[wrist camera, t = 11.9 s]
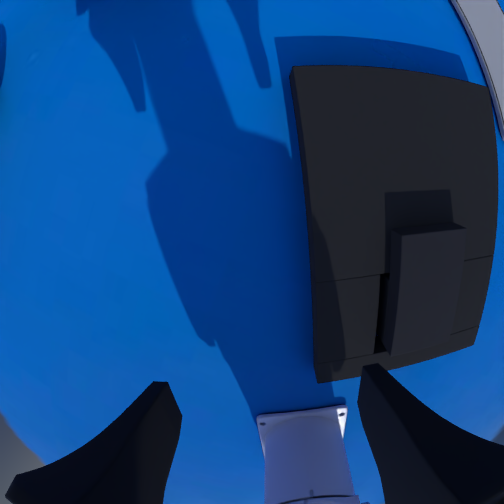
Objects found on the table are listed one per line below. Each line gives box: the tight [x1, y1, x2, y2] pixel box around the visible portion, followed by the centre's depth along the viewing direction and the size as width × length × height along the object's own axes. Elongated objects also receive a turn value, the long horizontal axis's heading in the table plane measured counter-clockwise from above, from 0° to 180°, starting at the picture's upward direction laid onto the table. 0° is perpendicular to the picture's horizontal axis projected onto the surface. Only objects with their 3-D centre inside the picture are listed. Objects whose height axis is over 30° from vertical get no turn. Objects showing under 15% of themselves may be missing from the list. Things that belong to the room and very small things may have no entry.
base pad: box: [289, 65, 498, 383], centre depth 16 cm, size 20×14×2 cm
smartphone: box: [451, 0, 504, 141], centre depth 11 cm, size 7×1×15 cm
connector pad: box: [376, 222, 467, 357], centre depth 16 cm, size 8×5×4 cm, turn 7°
